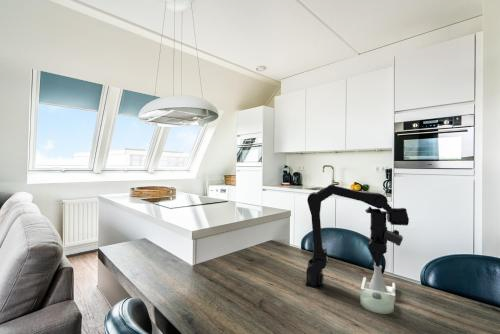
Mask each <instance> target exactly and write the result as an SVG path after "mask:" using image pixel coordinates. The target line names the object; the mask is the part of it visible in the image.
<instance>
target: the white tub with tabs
mask: <svg viewBox="0 0 500 334" xmlns="http://www.w3.org/2000/svg"><path fill="white" fill-rule="evenodd" d="M361 282H362V283H361V286H360V296H359V297H360V302H359V303H360V305H361V306H362V307H363V308H364V309H365V310H368V311H369V312H372V313H376V314H380V315H389V314H391V313H393V312H394V311H395V303H396V282H392V284H391V286H390V285H386V288H387V293H385V292H381V291H376V290H371V289H368V288H369V284H370V282H371V281H370V282H369V281H367V277H366V276H363V278H362V281H361Z"/></svg>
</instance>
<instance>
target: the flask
mask: <svg viewBox="0 0 500 334" xmlns="http://www.w3.org/2000/svg"><path fill="white" fill-rule="evenodd" d="M373 268H374V269H373V270H374V271H373V275H372V277H371V280H370V284H369V288H368V289H371V290H376V291H381V292H385V293H387V288H386V286H387V285H386V283H385V280H384V276H383V273H382V269H383V266H382V265H381V264H380V266H376V264H375V263H374V264H373Z"/></svg>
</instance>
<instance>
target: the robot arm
mask: <svg viewBox="0 0 500 334" xmlns="http://www.w3.org/2000/svg"><path fill="white" fill-rule="evenodd" d="M332 195H334V196H338V197H343V198H347V199H351V200H355V201H360V202H363V203H364V204H367V205H369V207H368V208H366V209H365V210H364V211H365V212H366V214H370V226H369V227H370V228H369V229H370V237H369V239H370V241H368V245H367V246H368V248H367V250H368V251H369V253H370V254H371V257H372V260H373V261H374V265H375V264H376V266H380V265H381V262H382V257H383V255H384V254H386V253H387V252H388V248H387V247H388V245H387V244H388V242H390V243H392V244H395V245H396V246H398V247H400V246H401V244H402V242H403V240H404V237H403V236H402V234H400V231H399V230H397V229H394V230H388V226H387V222H388V223H389V224H390V225H391V226H392V225H393V226H409V221H410V218H409V215H408V211H407V208H405V207H399V208H398V207H397V208H396V207H392V206H390V204H389V203H388V198H387V196H386V195H385V194H382V193H381V192H380V193H379V192H373V191H372V192H371V191H359V190H356V189H350V188H347V187H342V186H338V185H334V184H329V185H327V186H326V187H324V188H322V189H320V190H318V191H317V192H314V191H313V192H311V193H309V194H308V196H307V205H308V209H309V212H310V215H311V216H310V217H311V227H312V240H313V241H312V242H313V251H312V257H311V258H310V259H309V260H308V261H307V268H306V271H305V272H306V282H305V283H304V286H307V287H311V288H315V289H321V288H322V286H323V285H324V283H325V279H324V278H325V276H324V275H325V274H324V273H323V270H324V269H325V268H326V266H327V264H329V260H328V259H329V258H328V249H327V248H324V246H323V238H322V224H321V208H322V202H323V201H326V200H327V199H328V198H329V197H331V196H332ZM372 207H375V208H372ZM381 209H383V210H381Z"/></svg>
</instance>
